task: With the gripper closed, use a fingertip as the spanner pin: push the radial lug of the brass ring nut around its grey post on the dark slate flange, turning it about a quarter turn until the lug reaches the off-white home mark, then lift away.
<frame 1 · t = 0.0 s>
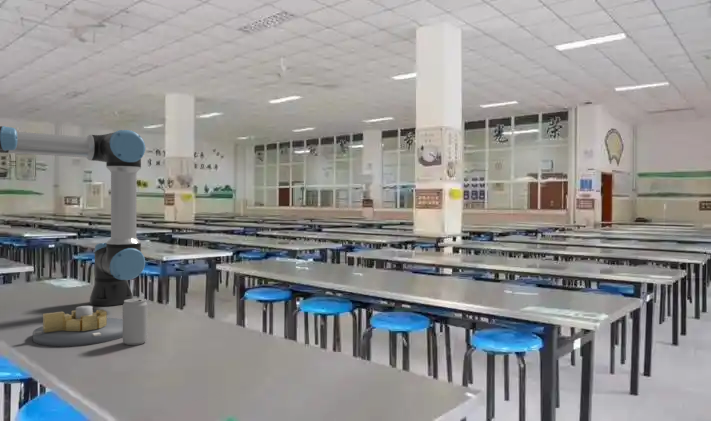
flange: (84, 334, 159), on the table
beverage can: (135, 343, 150), on the table
ring nut: (75, 319, 157), point 5 cm above the table, hinge at 0.0°
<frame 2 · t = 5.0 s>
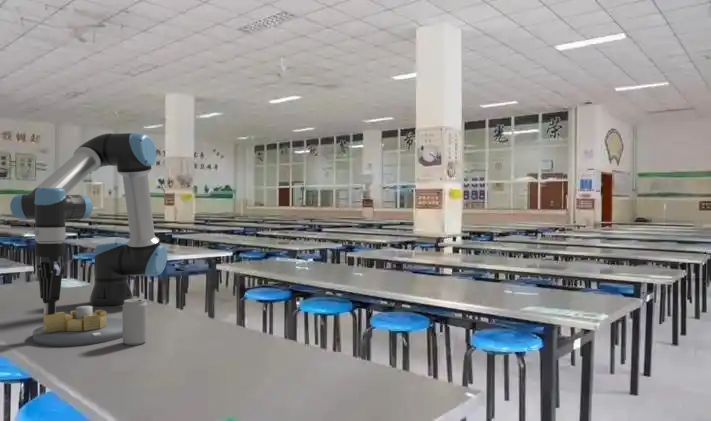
hand: (49, 324, 154), 4 cm above the table, fingers closed
ring nut: (75, 319, 157), point 5 cm above the table, hinge at 4.1°, touching gripper
everything else where it was.
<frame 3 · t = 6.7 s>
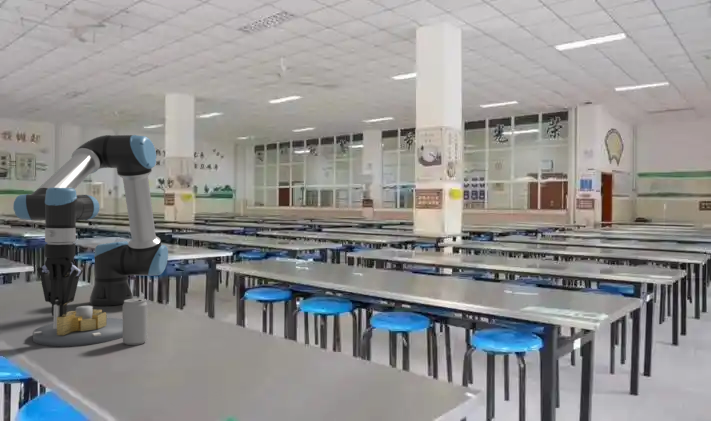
hand: (59, 327, 150), 4 cm above the table, fingers closed
ring nut: (78, 319, 156), point 5 cm above the table, hinge at 40.9°, touching gripper
everything else where it was.
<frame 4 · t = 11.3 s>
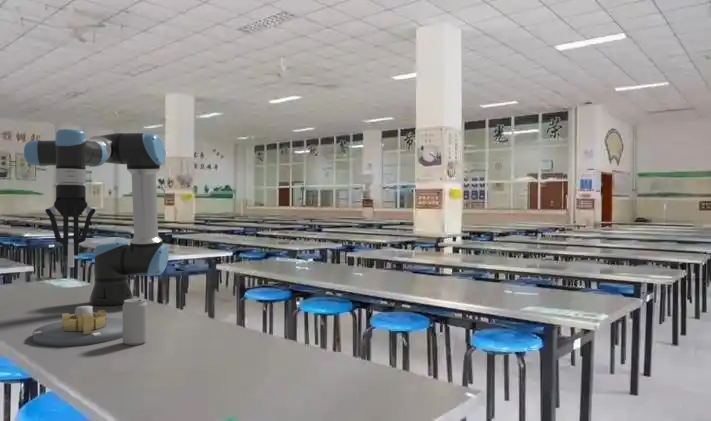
hand: (71, 266, 154), 20 cm above the table, fingers closed
ring nut: (84, 319, 157), point 5 cm above the table, hinge at 79.7°
everything else where it was.
at the end: ring nut at +80° (first picture: +0°); ring nut touching nothing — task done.
